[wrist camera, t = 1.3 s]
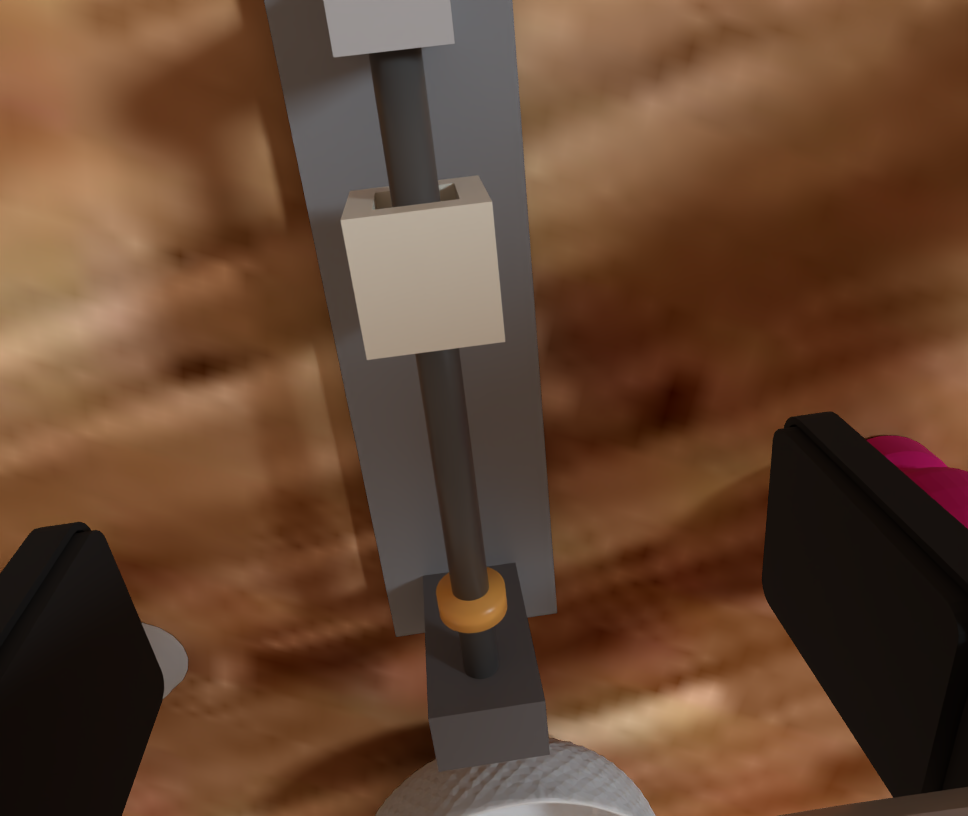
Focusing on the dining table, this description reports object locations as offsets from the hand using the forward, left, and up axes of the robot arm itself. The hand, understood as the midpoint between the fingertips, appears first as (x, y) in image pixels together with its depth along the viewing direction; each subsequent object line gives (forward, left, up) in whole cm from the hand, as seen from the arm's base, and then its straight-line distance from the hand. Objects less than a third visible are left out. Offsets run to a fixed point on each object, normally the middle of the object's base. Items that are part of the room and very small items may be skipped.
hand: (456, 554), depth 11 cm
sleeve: (0, 0, -15) cm, 15 cm away
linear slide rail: (0, +6, -20) cm, 21 cm away
